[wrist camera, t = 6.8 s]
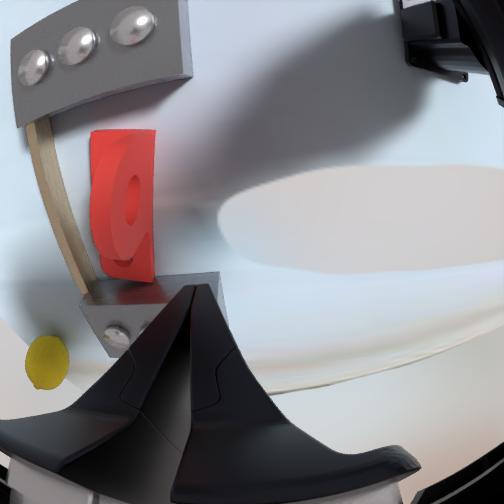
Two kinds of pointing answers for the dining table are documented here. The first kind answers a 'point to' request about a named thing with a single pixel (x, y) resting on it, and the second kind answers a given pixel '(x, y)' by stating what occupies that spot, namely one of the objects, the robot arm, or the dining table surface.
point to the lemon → (47, 362)
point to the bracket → (123, 201)
